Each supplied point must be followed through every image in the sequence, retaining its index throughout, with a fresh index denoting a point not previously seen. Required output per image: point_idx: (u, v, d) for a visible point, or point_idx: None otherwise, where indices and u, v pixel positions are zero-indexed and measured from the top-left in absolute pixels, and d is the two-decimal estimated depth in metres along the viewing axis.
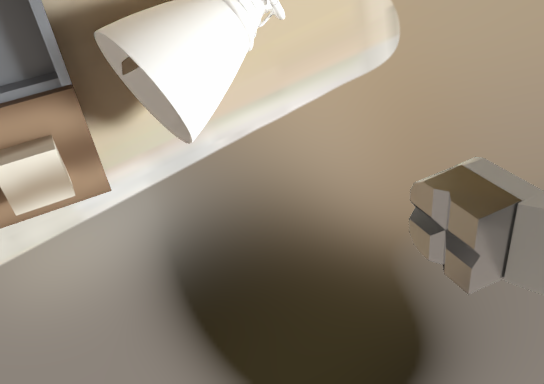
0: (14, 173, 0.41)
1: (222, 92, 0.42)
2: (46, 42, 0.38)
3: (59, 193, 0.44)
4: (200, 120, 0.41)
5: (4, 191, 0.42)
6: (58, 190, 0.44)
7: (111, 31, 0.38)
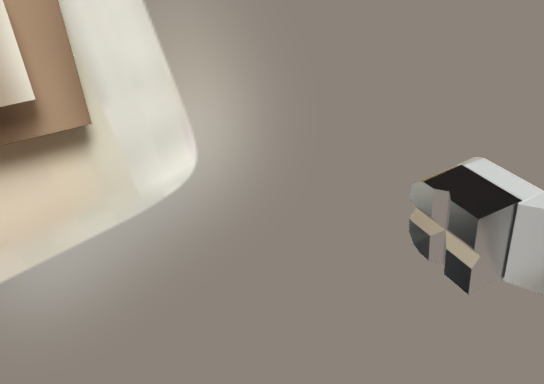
0: None
1: None
2: None
3: None
4: None
5: None
6: None
7: None
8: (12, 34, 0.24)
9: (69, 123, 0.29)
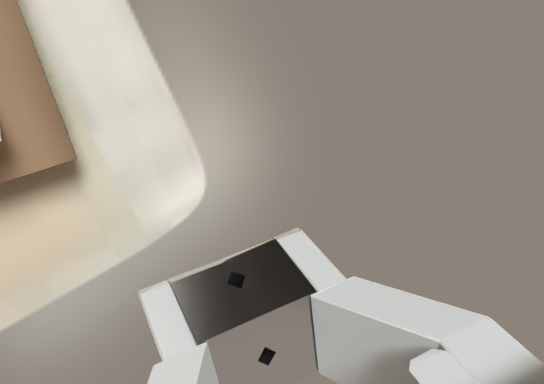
0: None
1: None
2: None
3: None
4: None
5: None
6: None
7: None
8: None
9: (50, 160, 0.25)
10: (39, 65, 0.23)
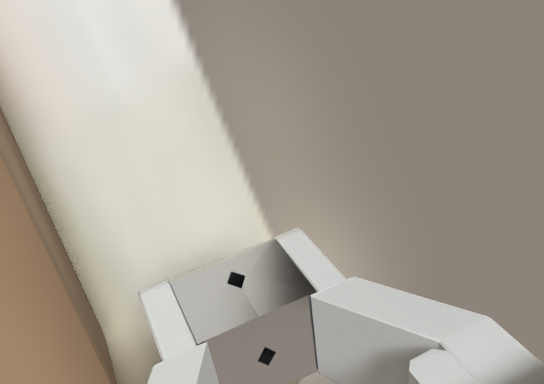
0: None
1: None
2: None
3: None
4: None
5: None
6: None
7: None
8: None
9: None
10: (55, 277, 0.11)
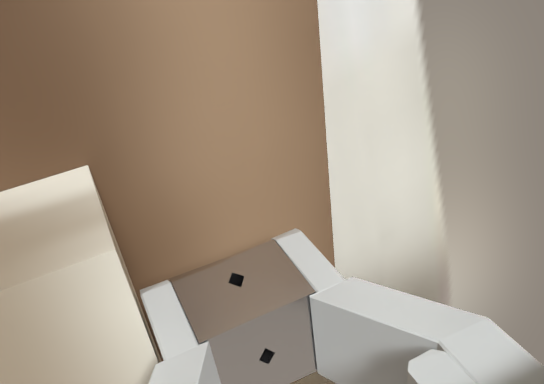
0: None
1: None
2: None
3: (83, 333, 0.07)
4: None
5: None
6: (56, 340, 0.07)
7: None
8: (145, 342, 0.07)
9: None
10: (329, 221, 0.11)
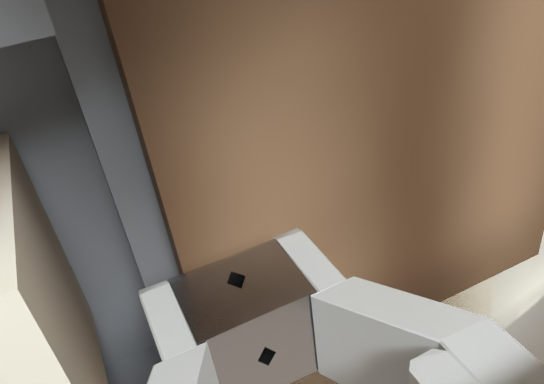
0: None
1: None
2: None
3: None
4: None
5: None
6: None
7: None
8: None
9: (511, 259, 0.16)
10: None
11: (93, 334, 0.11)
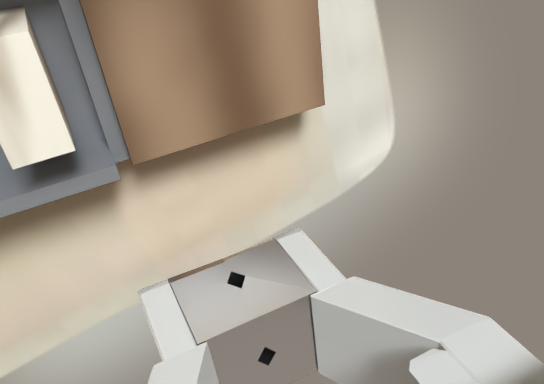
0: None
1: None
2: None
3: None
4: None
5: None
6: None
7: None
8: None
9: (305, 105, 0.28)
10: (317, 17, 0.26)
11: (63, 110, 0.24)
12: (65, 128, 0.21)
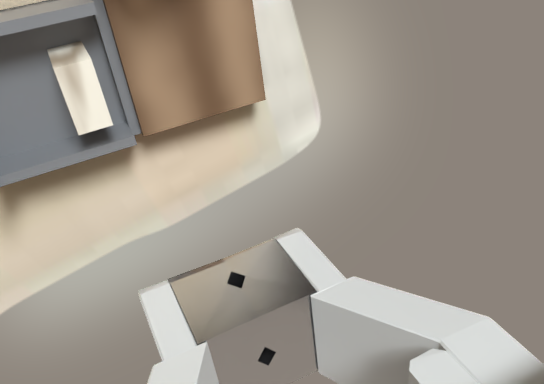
0: None
1: None
2: (41, 24, 0.34)
3: None
4: None
5: None
6: None
7: None
8: (62, 92, 0.35)
9: (252, 99, 0.44)
10: (257, 45, 0.42)
11: None
12: (108, 112, 0.37)
